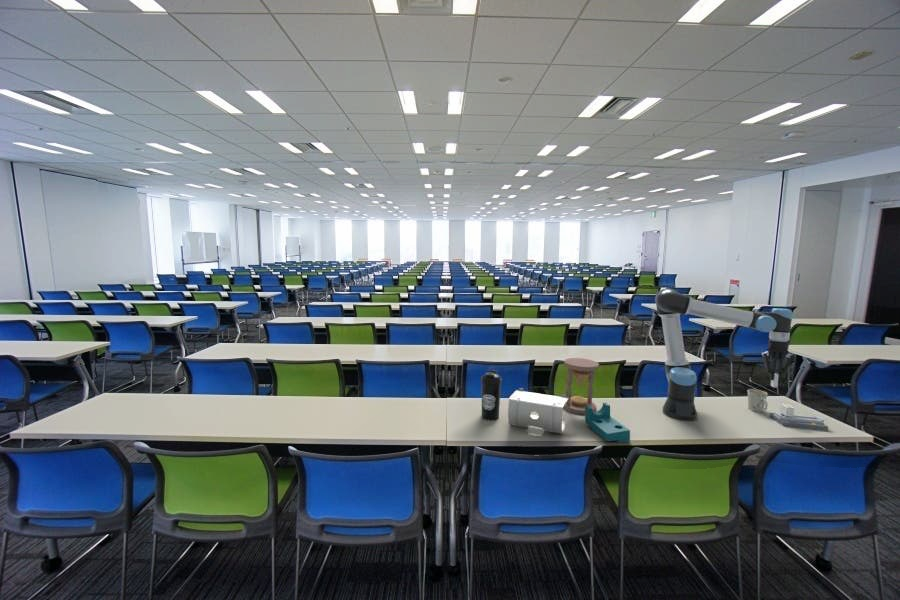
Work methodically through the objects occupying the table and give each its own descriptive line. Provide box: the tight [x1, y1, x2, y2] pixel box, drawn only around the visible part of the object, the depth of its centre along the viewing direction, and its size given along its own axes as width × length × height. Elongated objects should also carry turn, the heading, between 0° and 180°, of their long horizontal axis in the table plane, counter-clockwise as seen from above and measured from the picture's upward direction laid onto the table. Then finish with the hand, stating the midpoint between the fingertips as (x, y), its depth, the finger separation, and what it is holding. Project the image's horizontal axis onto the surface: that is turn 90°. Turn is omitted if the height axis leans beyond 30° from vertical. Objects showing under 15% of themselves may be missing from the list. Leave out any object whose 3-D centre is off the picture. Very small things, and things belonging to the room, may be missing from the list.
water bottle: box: [480, 369, 503, 421], centre depth 185 cm, size 10×10×23 cm
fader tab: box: [779, 403, 795, 417], centre depth 185 cm, size 3×5×6 cm, turn 166°
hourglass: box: [563, 357, 600, 415], centre depth 198 cm, size 18×18×25 cm
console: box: [769, 411, 829, 431], centre depth 184 cm, size 18×11×4 cm, turn 76°
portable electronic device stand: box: [507, 387, 569, 438], centre depth 176 cm, size 26×24×16 cm
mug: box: [746, 388, 769, 413], centre depth 198 cm, size 8×13×10 cm, turn 174°
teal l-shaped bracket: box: [584, 402, 631, 444], centre depth 170 cm, size 18×11×10 cm, turn 10°
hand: (773, 386), depth 185 cm, fingers closed
